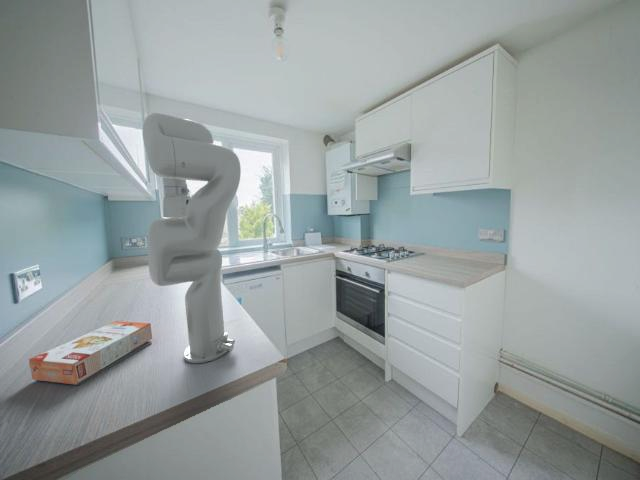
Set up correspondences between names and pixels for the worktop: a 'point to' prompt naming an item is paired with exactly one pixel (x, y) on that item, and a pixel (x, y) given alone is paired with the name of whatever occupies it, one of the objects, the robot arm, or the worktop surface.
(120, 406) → the worktop surface
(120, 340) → the cracker box
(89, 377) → the mat
